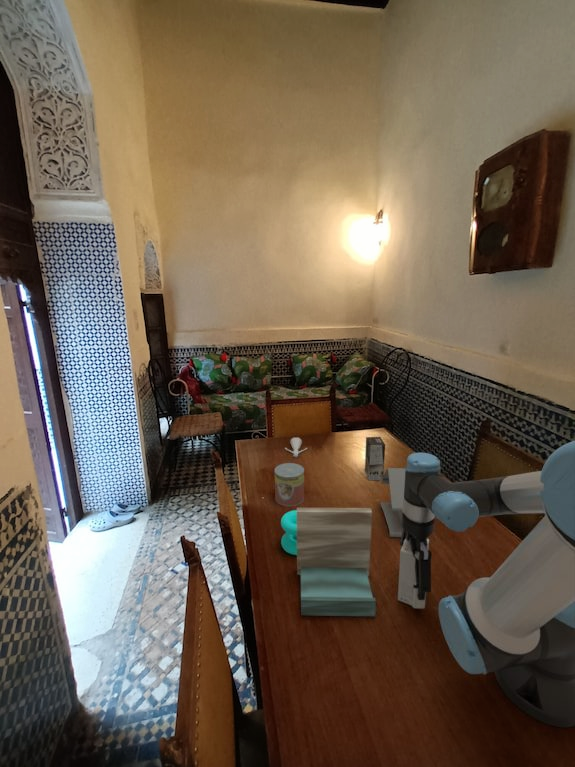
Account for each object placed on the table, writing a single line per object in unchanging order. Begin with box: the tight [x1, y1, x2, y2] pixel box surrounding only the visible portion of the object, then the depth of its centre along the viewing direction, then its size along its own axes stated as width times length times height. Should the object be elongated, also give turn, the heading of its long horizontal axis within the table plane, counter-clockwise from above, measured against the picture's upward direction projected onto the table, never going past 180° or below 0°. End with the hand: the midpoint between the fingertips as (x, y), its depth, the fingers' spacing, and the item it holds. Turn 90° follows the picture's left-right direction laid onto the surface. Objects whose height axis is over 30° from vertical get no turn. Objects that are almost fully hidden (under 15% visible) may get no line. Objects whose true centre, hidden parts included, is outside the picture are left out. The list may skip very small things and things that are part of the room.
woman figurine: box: [284, 437, 308, 459], centre depth 180 cm, size 12×4×18 cm
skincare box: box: [397, 538, 430, 610], centre depth 92 cm, size 8×6×15 cm
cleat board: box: [296, 507, 377, 617], centre depth 92 cm, size 15×20×20 cm
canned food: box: [274, 462, 305, 507], centre depth 137 cm, size 11×11×12 cm
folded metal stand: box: [379, 467, 406, 538], centre depth 121 cm, size 18×10×20 cm, turn 176°
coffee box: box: [364, 436, 386, 481], centre depth 153 cm, size 9×6×16 cm
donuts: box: [280, 509, 297, 556], centre depth 111 cm, size 10×10×10 cm
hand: (412, 589), depth 93 cm, fingers closed on skincare box, 10 cm apart
